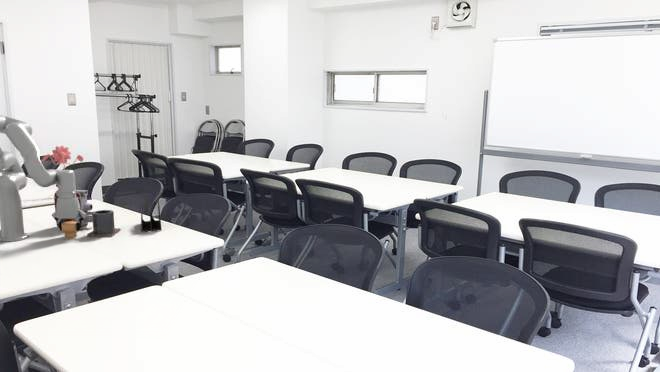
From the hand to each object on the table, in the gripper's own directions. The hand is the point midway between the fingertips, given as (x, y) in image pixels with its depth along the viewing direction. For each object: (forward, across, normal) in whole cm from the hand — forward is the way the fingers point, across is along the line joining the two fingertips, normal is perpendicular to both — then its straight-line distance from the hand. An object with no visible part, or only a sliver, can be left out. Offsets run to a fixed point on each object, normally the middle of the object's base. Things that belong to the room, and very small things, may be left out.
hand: (70, 230), depth 251 cm
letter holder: (+4, +33, +20) cm, 39 cm away
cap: (+3, 0, 0) cm, 3 cm away
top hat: (+3, +14, +6) cm, 16 cm away
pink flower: (+4, -52, +105) cm, 117 cm away
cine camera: (+4, -5, +19) cm, 20 cm away
